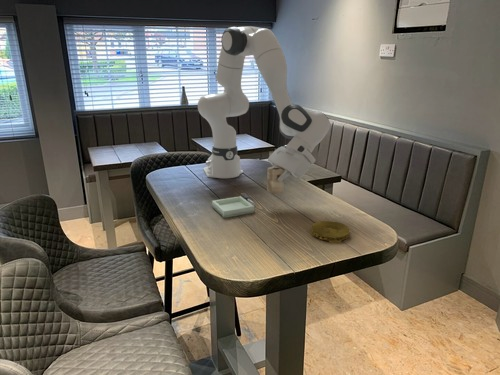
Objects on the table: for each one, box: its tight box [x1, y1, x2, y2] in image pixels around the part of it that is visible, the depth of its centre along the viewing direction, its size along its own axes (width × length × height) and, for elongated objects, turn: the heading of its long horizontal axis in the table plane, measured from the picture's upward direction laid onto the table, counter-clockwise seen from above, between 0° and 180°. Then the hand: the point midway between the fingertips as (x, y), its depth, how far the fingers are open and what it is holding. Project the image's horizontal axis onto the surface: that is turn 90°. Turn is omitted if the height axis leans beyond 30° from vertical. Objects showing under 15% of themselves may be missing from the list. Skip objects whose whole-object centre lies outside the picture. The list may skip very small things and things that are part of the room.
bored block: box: [266, 166, 285, 195], centre depth 139 cm, size 5×4×9 cm
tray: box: [211, 195, 255, 219], centre depth 141 cm, size 12×12×2 cm
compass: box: [310, 220, 351, 243], centre depth 121 cm, size 12×12×2 cm
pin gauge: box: [240, 192, 257, 207], centre depth 149 cm, size 11×2×2 cm, turn 26°
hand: (274, 178), depth 138 cm, fingers closed on bored block, 5 cm apart
